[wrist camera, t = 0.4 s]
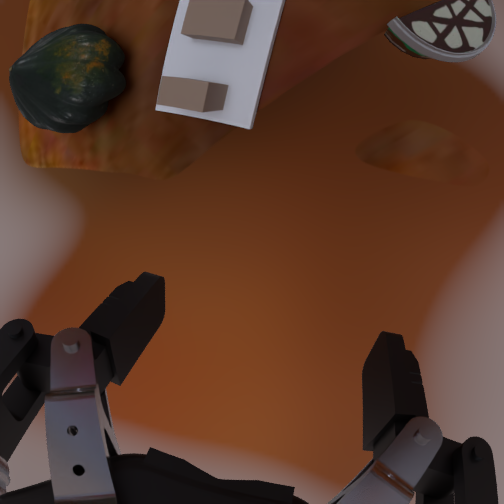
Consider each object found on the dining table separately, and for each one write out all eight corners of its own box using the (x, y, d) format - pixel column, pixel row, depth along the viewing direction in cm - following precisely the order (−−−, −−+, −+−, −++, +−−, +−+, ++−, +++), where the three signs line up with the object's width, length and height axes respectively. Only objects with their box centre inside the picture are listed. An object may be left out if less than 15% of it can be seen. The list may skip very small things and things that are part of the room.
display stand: (203, -56, 24) (178, -81, 17) (299, -48, 23) (291, -79, 16) (161, 109, 36) (126, 114, 29) (252, 128, 35) (234, 135, 28)
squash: (120, 144, 33) (41, 63, 19) (44, 156, 37) (-26, 103, 23) (155, 62, 37) (105, -16, 23) (80, 83, 41) (28, 26, 26)
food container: (403, 85, 29) (431, 80, 20) (373, 39, 27) (391, 18, 19) (479, 48, 24) (521, 39, 15) (451, 4, 22) (486, -18, 13)
